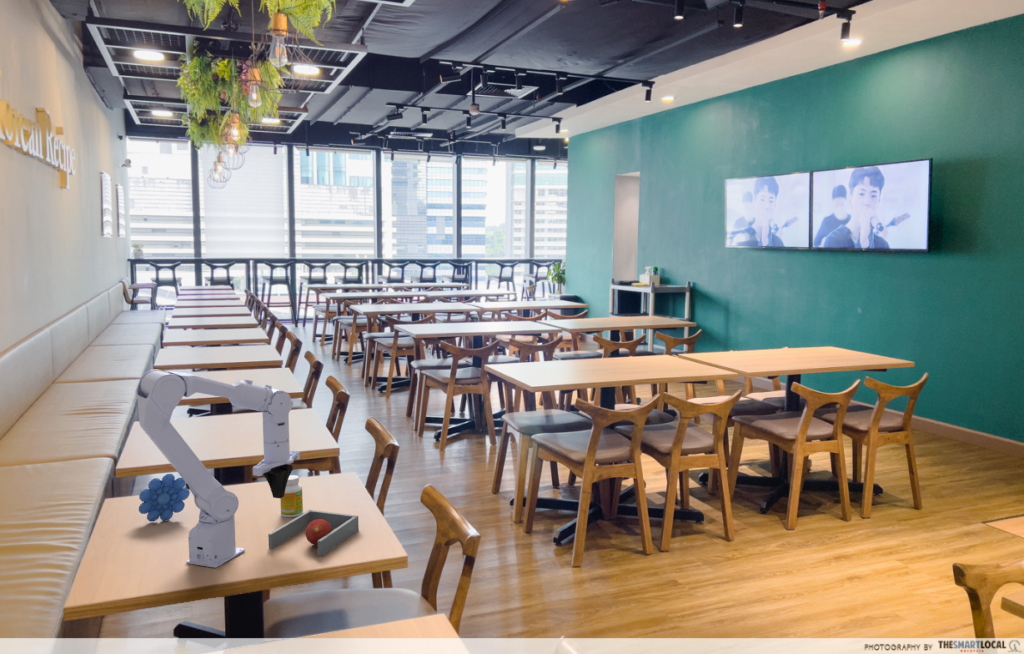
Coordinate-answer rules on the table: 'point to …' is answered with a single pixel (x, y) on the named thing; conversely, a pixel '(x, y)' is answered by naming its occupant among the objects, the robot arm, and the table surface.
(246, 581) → the table surface
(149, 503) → the blue flower
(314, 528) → the onion
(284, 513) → the supplement bottle
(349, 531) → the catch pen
